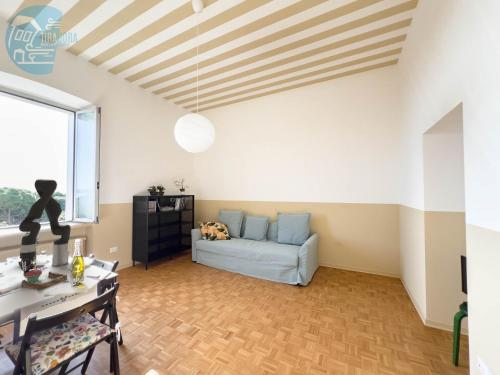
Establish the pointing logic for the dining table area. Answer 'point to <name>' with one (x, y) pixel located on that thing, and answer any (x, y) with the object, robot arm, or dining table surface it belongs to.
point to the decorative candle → (36, 245)
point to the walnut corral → (40, 286)
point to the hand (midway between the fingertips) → (26, 275)
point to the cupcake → (33, 275)
